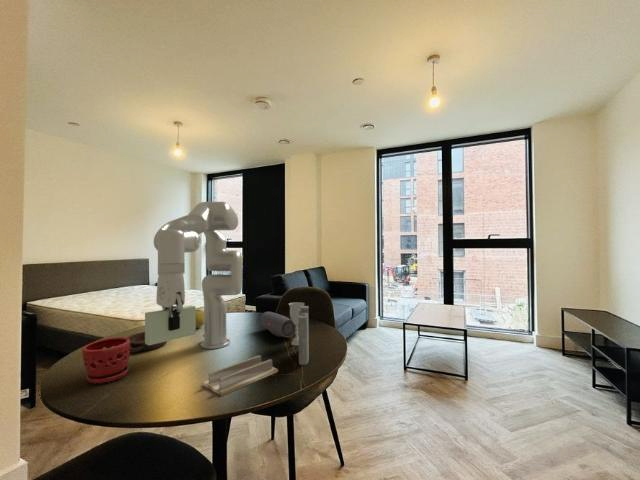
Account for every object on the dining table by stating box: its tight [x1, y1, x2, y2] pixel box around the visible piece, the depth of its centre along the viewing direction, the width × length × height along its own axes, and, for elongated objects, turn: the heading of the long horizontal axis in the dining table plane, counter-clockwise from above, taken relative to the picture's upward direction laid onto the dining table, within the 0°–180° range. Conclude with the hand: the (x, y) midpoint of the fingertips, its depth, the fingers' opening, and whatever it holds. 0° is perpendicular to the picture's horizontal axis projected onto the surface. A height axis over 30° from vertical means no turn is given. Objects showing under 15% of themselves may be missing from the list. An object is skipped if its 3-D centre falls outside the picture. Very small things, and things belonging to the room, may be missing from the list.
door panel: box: [144, 305, 197, 345], centre depth 93 cm, size 3×14×9 cm, turn 139°
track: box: [202, 355, 279, 397], centre depth 101 cm, size 11×22×4 cm, turn 140°
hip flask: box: [298, 305, 310, 366], centre depth 119 cm, size 16×4×20 cm, turn 3°
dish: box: [126, 331, 168, 353], centre depth 135 cm, size 18×22×5 cm
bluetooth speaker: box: [259, 311, 296, 338], centre depth 151 cm, size 23×9×10 cm, turn 36°
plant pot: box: [82, 337, 131, 384], centre depth 102 cm, size 13×13×12 cm
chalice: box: [288, 301, 305, 346], centre depth 136 cm, size 7×7×18 cm
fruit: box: [196, 308, 204, 329], centre depth 164 cm, size 11×12×10 cm
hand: (171, 328), depth 93 cm, fingers closed on door panel, 3 cm apart
